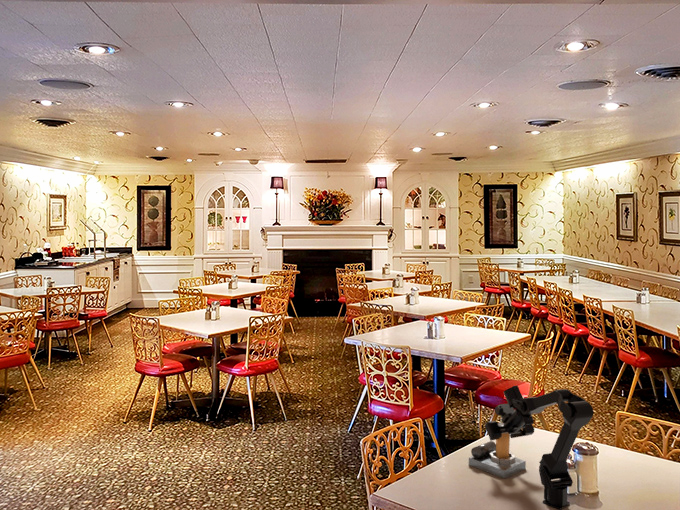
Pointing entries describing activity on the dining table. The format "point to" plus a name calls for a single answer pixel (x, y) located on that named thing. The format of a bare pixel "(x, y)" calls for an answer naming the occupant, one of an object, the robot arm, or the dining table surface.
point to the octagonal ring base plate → (495, 461)
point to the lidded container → (503, 445)
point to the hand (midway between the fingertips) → (500, 438)
